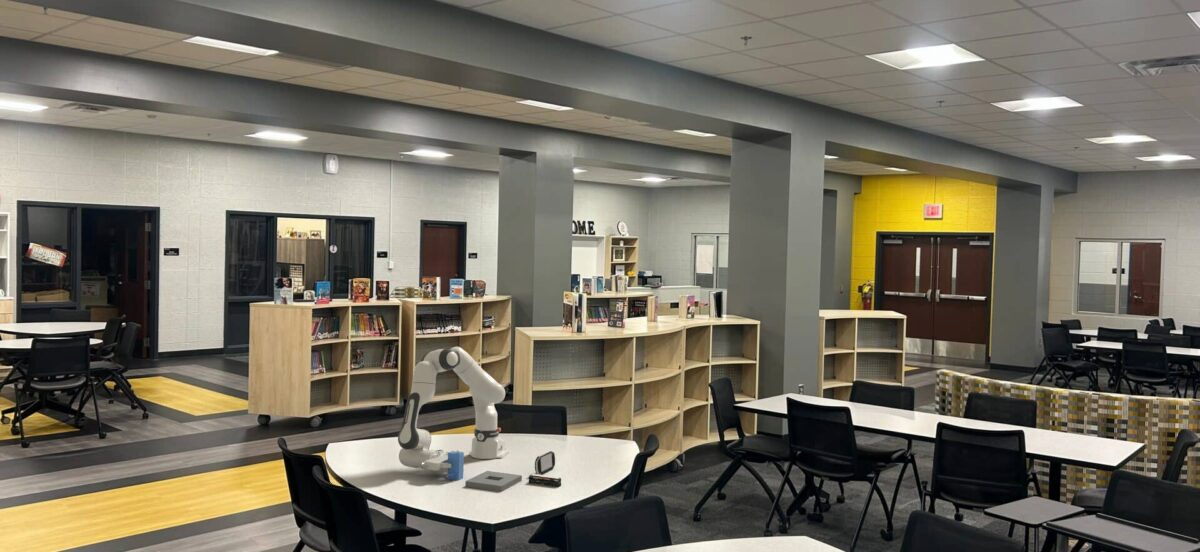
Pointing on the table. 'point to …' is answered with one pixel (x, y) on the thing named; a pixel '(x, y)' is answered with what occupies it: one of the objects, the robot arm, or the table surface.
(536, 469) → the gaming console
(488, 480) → the plate
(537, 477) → the black flat block
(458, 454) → the blue rectangular block
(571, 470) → the table surface
